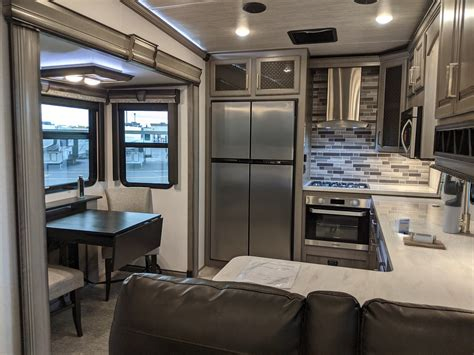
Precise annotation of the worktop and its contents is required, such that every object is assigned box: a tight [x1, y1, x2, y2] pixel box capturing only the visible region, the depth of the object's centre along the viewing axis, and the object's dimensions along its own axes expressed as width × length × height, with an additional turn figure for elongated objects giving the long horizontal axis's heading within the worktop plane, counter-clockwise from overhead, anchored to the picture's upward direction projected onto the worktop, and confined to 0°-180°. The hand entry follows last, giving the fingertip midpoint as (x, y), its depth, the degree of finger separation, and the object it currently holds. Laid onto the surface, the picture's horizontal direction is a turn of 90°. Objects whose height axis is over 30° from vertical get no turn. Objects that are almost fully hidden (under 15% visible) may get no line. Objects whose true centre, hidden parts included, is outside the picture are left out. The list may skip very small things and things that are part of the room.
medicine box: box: [393, 217, 411, 234], centre depth 240 cm, size 8×4×9 cm, turn 106°
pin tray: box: [402, 232, 445, 250], centre depth 214 cm, size 14×20×5 cm
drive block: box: [413, 232, 433, 244], centre depth 214 cm, size 5×9×4 cm, turn 65°
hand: (459, 191), depth 217 cm, fingers open, 8 cm apart
